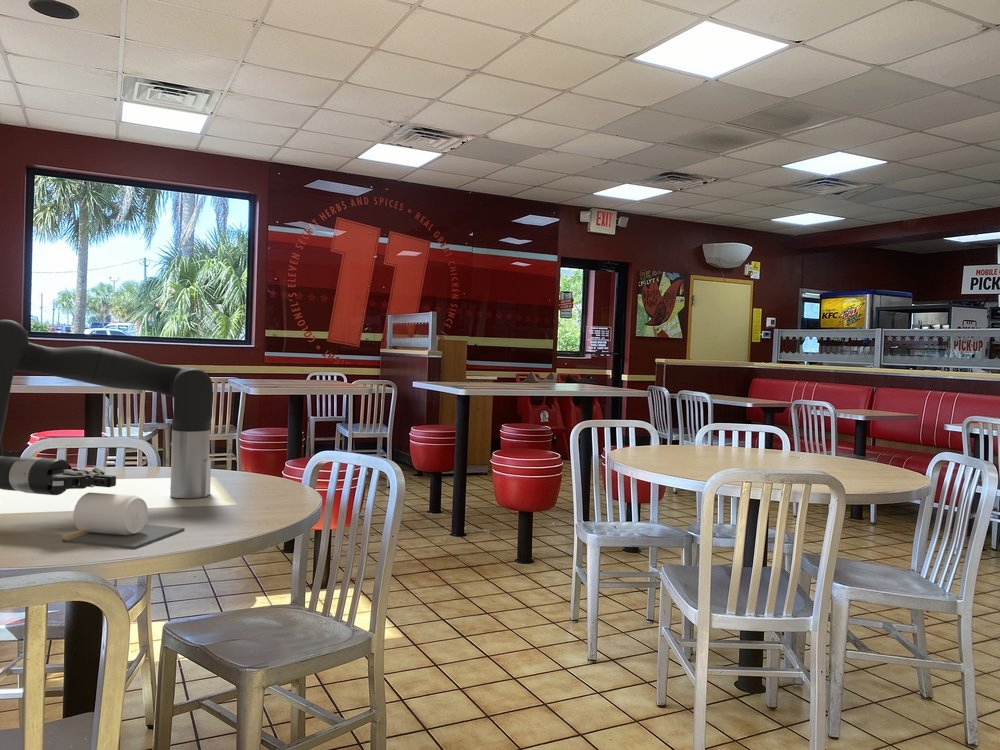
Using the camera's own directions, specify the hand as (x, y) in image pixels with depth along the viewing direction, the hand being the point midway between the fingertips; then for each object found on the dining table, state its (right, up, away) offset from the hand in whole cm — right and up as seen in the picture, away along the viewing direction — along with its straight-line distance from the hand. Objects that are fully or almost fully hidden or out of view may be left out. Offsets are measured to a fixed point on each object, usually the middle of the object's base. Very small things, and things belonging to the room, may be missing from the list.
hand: (113, 481), depth 157 cm
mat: (+3, -11, 0) cm, 11 cm away
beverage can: (-7, -6, +1) cm, 9 cm away
